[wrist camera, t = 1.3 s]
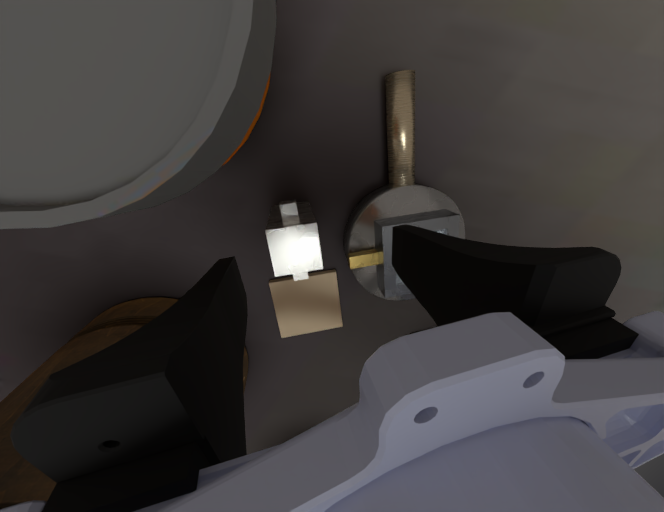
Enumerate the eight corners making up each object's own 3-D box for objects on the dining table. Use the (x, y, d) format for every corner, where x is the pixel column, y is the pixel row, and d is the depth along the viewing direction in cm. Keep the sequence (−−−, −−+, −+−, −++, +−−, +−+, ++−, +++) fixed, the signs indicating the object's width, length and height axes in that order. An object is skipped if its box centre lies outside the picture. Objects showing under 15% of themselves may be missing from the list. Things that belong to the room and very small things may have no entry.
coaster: (341, 322, 27) (342, 326, 27) (281, 334, 27) (281, 338, 26) (335, 269, 25) (336, 271, 24) (269, 280, 24) (268, 283, 24)
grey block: (315, 247, 24) (325, 284, 17) (281, 252, 24) (278, 292, 17) (306, 187, 22) (314, 204, 15) (268, 192, 22) (260, 211, 15)
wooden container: (41, 370, 24) (-1191, 1485, 4) (150, 263, 22) (-1264, 1443, 2) (183, 438, 30) (-39, 1055, 10) (280, 357, 28) (259, 924, 7)
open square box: (442, 274, 23) (455, 285, 22) (350, 290, 23) (356, 303, 21) (445, 208, 21) (460, 214, 19) (344, 224, 20) (350, 232, 19)
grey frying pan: (446, 277, 27) (460, 289, 25) (348, 295, 26) (354, 309, 24) (457, 71, 20) (479, 61, 18) (326, 84, 19) (331, 76, 17)
